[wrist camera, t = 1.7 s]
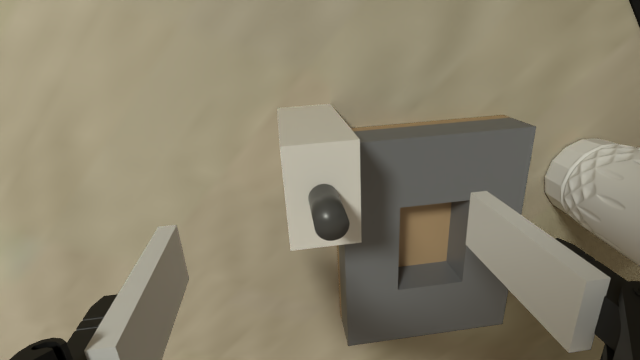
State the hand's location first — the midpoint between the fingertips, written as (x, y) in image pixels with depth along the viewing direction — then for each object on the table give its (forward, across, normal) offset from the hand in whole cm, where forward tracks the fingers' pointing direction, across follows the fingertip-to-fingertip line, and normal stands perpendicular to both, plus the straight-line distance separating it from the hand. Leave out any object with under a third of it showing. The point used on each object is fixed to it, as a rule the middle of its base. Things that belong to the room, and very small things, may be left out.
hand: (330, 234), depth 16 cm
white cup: (+13, +24, -4) cm, 28 cm away
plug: (+13, 0, 0) cm, 13 cm away
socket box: (+13, +9, -8) cm, 18 cm away
